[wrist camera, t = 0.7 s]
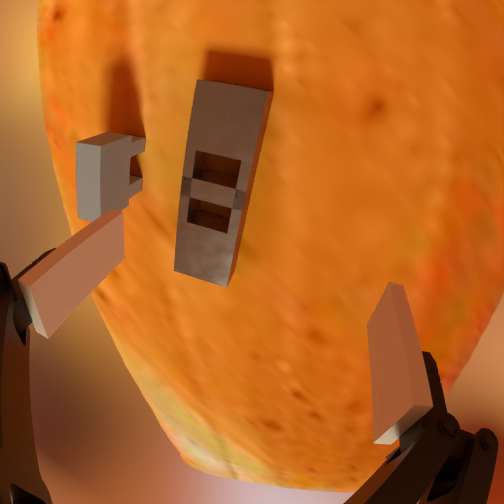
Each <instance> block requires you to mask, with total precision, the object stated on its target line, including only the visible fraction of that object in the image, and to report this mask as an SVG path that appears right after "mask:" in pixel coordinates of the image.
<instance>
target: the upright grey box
mask: <svg viewBox="0 0 504 504" xmlns="http://www.w3.org/2000/svg"><path fill="white" fill-rule="evenodd" d="M144 148H145V138H144V137H138V136H132V135H127V134H120V133H113V132H106V133H103V134H100V135H97V136H93V137H90V138H87V139H84V140H82V141H79V142H76V186H77V206H78V218H81V219H84V220H87V221H90V222H93V221H94V220H96V219H97V218H99V217H100V216H102V215H103V214H105V213H106V212H107V211H109V210H110V209H113V210H117V211H121V210H123V209H124V208H126V207H127V206H129V198H131V197H132V196H134V195H135V194H137V193H138V192H140V191H142V178H141V177H137V176H132V175H130V158H131V157H133V156H135V155H137V154H139V153H142V152H144Z"/></svg>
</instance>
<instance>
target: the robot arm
mask: <svg viewBox="0 0 504 504" xmlns="http://www.w3.org/2000/svg"><path fill="white" fill-rule="evenodd" d="M124 259H125V248H124V226H123V212H121V211H117V210H113V209H110V210H109V211H107V212H106V213H105V214H103V215H102V216H100V217H99V218H97V219H96V220H94V221H93V222H92V223H90V224H89V225H87V226H86V227H85V228H83V229H82V230H80V231H79V232H78V233H76V234H75V235H74V236H72V237H71V238H70V239H68V240H67V241H66V242H64V243H63V244H62V245H60V246H59V247H58V248H54V249H51V250H49V251H47V252H45V253H44V254H42V255H41V256H40V257H39V258H38V260H37V259H36V260H35V261H34V262H32V264H30V265H29V266H27V267H26V268H25V269H24V270H23V271H21V272H20V273H19V274H18V275H17V276H15V277H14V278H13V279H12V280H11V277H10V274H9V271H8V268H7V265H6V264H5V263H3V262H0V504H12V503H13V504H52V501H51V497H50V494H49V491H48V489H47V487H46V485H45V483H44V482H43V480H42V478H41V476H40V472H39V467H38V461H37V455H36V449H35V443H34V435H33V426H32V417H31V403H30V384H29V383H30V382H29V346H30V343H29V342H30V329H29V327H28V326H29V325H30V323H32V322H33V324H34V326H35V329H36V332H38V333H40V334H41V335H43V336H45V337H46V338H49V337H50V336H51V335H52V334H53V333H54V332H55V331H56V329H57V328H58V327H59V326H60V325H61V324H62V323H63V322H64V321H65V319H66V318H67V317H68V316H69V315H70V314H71V313H72V312H73V311H74V310H75V309H76V308H77V306H78V305H79V304H80V303H81V302H82V301H83V300H84V299H85V298H86V297H87V296H88V295H89V294H90V293H91V292H92V291H93V290H94V289H95V288H96V287H97V286H98V285H99V284H100V283H101V282H102V280H103V279H104V278H105V277H106V276H107V275H108V274H109V273H110V272H111V271H112V270H113V269H114V268H115V267H116V266H118V265H119V264H120V263H121V262H122V261H123V260H124ZM367 333H368V343H369V354H370V367H371V383H372V404H373V443H378V444H392V443H393V442H394V441H396V440H397V439H398V438H399V441H400V446H399V447H398V448H397V449H395V450H394V451H393V452H391V453H390V454H389V455H387V456H386V458H388V459H387V460H386V461H385V462H384V463H383V464H382V465H381V466H380V468H379V469H378V470H377V471H376V472H375V473H374V474H373V475H372V476H371V477H370V478H369V479H368V480H367V481H366V482H365V483H364V484H363V485H362V486H361V487H360V488H359V489H358V490H357V491H356V492H355V493H354V494H353V495H352V496H351V497H350V498H349V499H348V500H347V501H346V502H345V503H344V504H417V502H418V501H419V500H420V501H419V503H418V504H486V503H487V499H488V495H489V491H490V487H491V483H492V478H493V473H494V469H495V464H496V458H497V452H498V441H497V437H496V436H495V434H494V433H493V432H492V431H491V430H490V429H486V428H483V429H480V430H479V431H478V432H477V433H475V434H472V433H469V432H466V431H464V430H461V429H460V426H459V423H458V421H457V420H456V419H455V417H454V416H452V415H451V414H449V413H447V409H446V404H445V399H444V394H443V390H442V385H441V383H440V377H439V375H438V369H437V365H436V362H435V360H434V359H433V357H432V355H431V354H430V352H424V351H421V347H420V343H419V339H418V335H417V331H416V327H415V324H414V320H413V317H412V313H411V310H410V306H409V303H408V300H407V296H406V293H405V290H404V287H403V285H399V284H395V283H392V282H389V283H388V285H387V287H386V289H385V291H384V293H383V295H382V297H381V299H380V301H379V303H378V305H377V307H376V309H375V310H374V312H373V314H372V316H371V318H370V320H369V322H368V323H367ZM420 498H421V499H420Z"/></svg>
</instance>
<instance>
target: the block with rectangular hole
mask: <svg viewBox="0 0 504 504" xmlns="http://www.w3.org/2000/svg"><path fill="white" fill-rule="evenodd" d="M273 93H274V92H272V91H267V90H263V89H258V88H253V87H248V86H242V85H236V84H231V83H224V82H218V81H211V80H197V83H196V89H195V94H194V100H193V106H192V112H191V119H190V125H189V132H188V138H187V145H186V153H185V160H184V168H183V176H182V185H181V194H180V203H179V213H178V224H177V235H176V248H175V262H174V271H177V272H180V273H183V274H186V275H189V276H192V277H195V278H198V279H201V280H204V281H207V282H211V283H214V284H217V285H220V286H223V287H226V288H227V286H228V284H229V282H230V280H231V278H232V276H233V274H234V271H235V266H236V261H237V257H238V252H239V247H240V242H241V238H242V233H243V228H244V224H245V219H246V214H247V210H248V205H249V201H250V196H251V191H252V187H253V182H254V178H255V173H256V169H257V164H258V160H259V155H260V151H261V146H262V142H263V137H264V133H265V128H266V124H267V120H268V115H269V111H270V107H271V102H272V98H273ZM206 153H211V154H215V155H220V156H224V157H228V158H232V159H237V160H241V165H240V170H239V175H238V178H236V177H232V176H228V175H224V174H220V173H216V172H212V171H208V170H204V165H205V159H206ZM199 200H202V201H206V202H210V203H214V204H217V205H221V206H225V207H229V208H232V211H231V217H230V219H228V218H224V217H221V216H217V215H213V214H210V213H206V212H202V211H199V210H198V207H199Z"/></svg>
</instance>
